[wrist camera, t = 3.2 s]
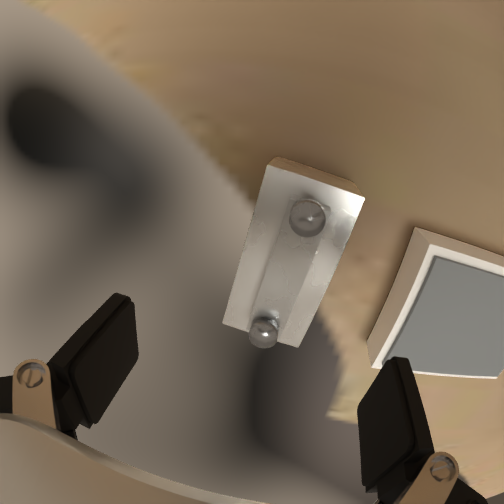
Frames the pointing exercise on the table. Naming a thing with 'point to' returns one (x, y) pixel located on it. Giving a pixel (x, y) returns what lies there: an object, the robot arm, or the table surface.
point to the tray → (444, 310)
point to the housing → (291, 251)
